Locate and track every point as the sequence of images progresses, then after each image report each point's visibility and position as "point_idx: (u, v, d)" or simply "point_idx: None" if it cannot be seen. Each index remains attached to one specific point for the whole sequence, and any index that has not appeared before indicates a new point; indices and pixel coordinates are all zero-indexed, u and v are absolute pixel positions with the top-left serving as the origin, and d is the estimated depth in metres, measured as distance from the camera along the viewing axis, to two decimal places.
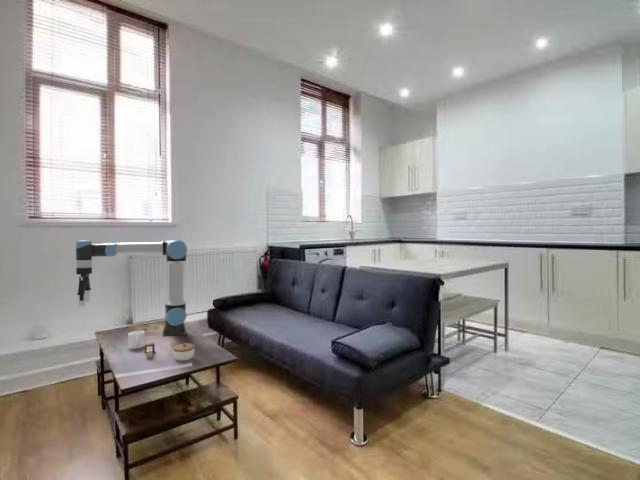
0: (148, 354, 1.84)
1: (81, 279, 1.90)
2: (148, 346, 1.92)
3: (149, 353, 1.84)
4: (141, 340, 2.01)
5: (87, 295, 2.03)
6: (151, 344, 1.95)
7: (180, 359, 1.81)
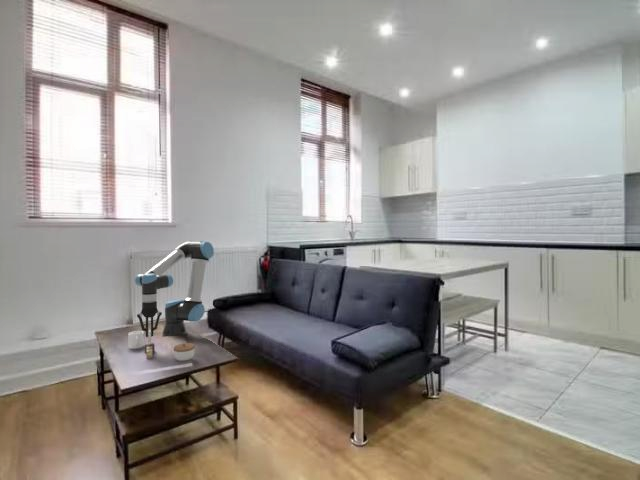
0: (148, 354, 1.84)
1: (138, 317, 1.91)
2: (148, 346, 1.92)
3: (149, 353, 1.84)
4: (141, 340, 2.01)
5: None
6: (151, 344, 1.95)
7: (180, 359, 1.81)
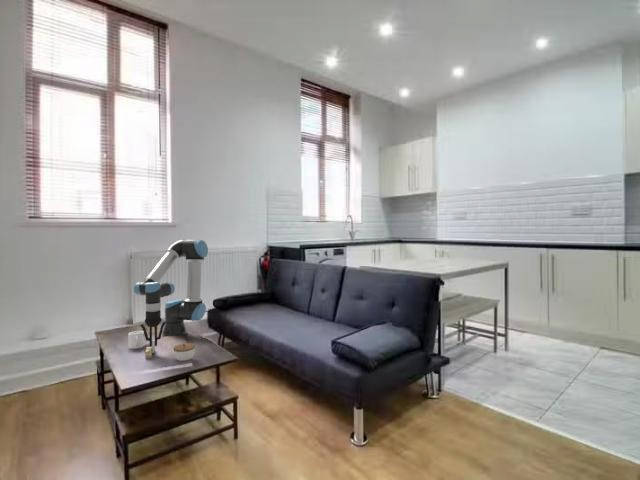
0: (147, 354, 1.84)
1: (141, 326, 1.88)
2: (148, 346, 1.92)
3: (148, 353, 1.84)
4: (141, 340, 2.01)
5: None
6: None
7: (180, 359, 1.81)
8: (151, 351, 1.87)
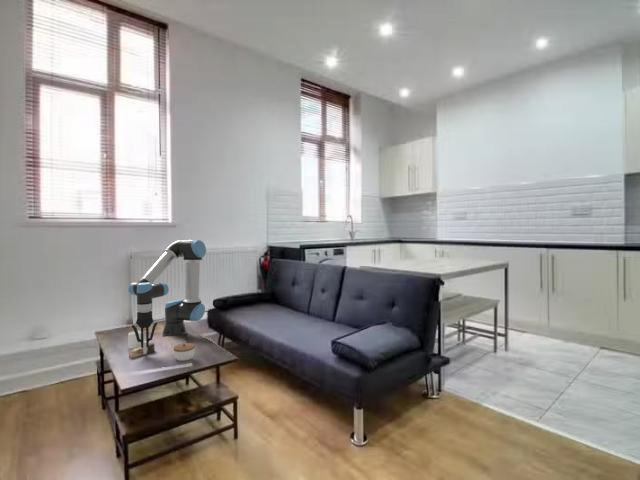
0: (129, 353, 1.85)
1: (133, 327, 1.86)
2: None
3: (130, 352, 1.85)
4: None
5: None
6: (150, 345, 1.94)
7: (180, 359, 1.81)
8: (136, 351, 1.86)
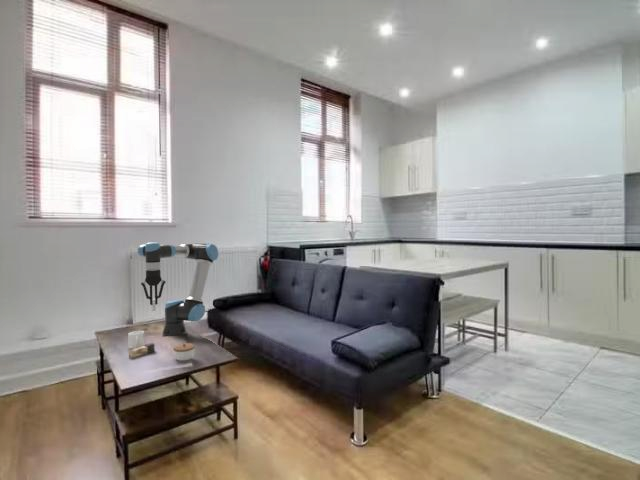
0: (129, 353, 1.85)
1: (142, 285, 1.93)
2: (144, 346, 1.92)
3: (130, 352, 1.85)
4: (141, 340, 2.01)
5: None
6: (150, 345, 1.94)
7: (180, 359, 1.81)
8: (136, 351, 1.86)
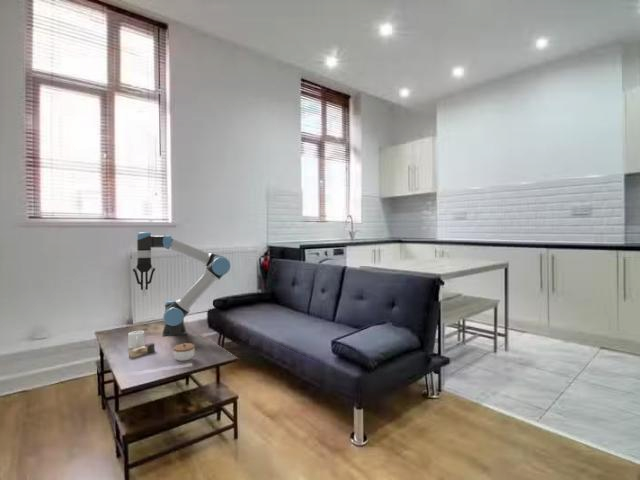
0: (129, 353, 1.85)
1: None
2: (144, 346, 1.92)
3: (130, 352, 1.85)
4: (141, 340, 2.01)
5: None
6: (150, 345, 1.94)
7: (180, 359, 1.81)
8: (136, 351, 1.86)
